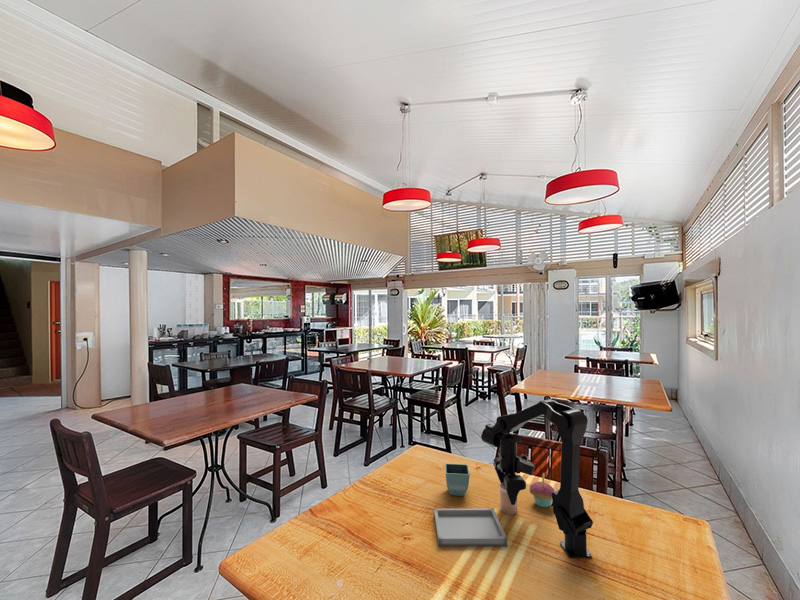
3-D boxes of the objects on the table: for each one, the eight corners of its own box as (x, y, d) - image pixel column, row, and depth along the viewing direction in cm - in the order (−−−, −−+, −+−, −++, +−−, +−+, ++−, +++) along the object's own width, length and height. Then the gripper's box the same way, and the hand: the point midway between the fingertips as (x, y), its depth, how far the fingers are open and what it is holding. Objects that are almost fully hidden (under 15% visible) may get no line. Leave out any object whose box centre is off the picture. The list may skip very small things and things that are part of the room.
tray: (507, 546, 107) (507, 538, 107) (438, 546, 107) (438, 538, 107) (493, 515, 123) (493, 508, 123) (434, 515, 123) (434, 508, 123)
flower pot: (468, 487, 142) (467, 464, 142) (470, 499, 133) (469, 474, 133) (445, 486, 142) (445, 463, 143) (445, 498, 134) (445, 473, 134)
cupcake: (559, 510, 125) (558, 475, 125) (534, 510, 125) (533, 475, 125) (549, 497, 134) (549, 464, 134) (526, 497, 134) (525, 464, 134)
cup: (520, 515, 123) (520, 490, 123) (502, 515, 123) (502, 491, 123) (514, 505, 129) (514, 482, 129) (497, 505, 129) (497, 482, 129)
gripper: (541, 463, 117) (542, 512, 116) (522, 441, 135) (523, 484, 135) (507, 463, 117) (507, 512, 116) (492, 441, 135) (493, 484, 135)
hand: (508, 497), depth 126 cm, fingers open, 9 cm apart
